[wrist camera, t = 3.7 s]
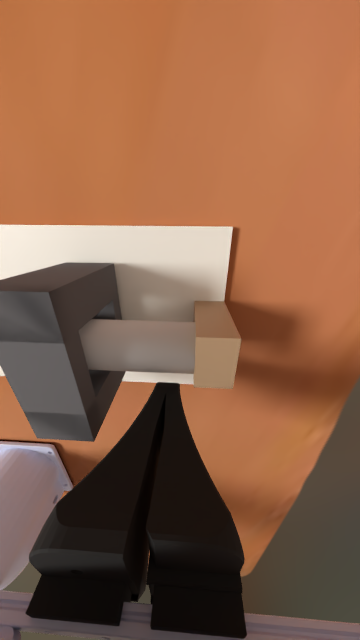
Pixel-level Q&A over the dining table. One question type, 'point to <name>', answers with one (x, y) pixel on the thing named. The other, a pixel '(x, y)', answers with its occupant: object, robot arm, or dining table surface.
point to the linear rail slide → (145, 296)
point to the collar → (58, 347)
